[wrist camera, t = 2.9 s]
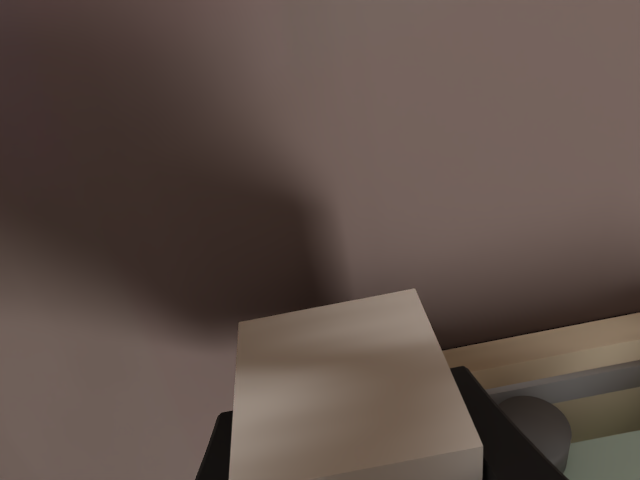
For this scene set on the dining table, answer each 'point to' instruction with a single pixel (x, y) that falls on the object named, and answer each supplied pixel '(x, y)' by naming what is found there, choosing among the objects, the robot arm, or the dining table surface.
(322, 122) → the dining table surface
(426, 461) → the block
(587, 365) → the track board
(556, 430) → the cart
